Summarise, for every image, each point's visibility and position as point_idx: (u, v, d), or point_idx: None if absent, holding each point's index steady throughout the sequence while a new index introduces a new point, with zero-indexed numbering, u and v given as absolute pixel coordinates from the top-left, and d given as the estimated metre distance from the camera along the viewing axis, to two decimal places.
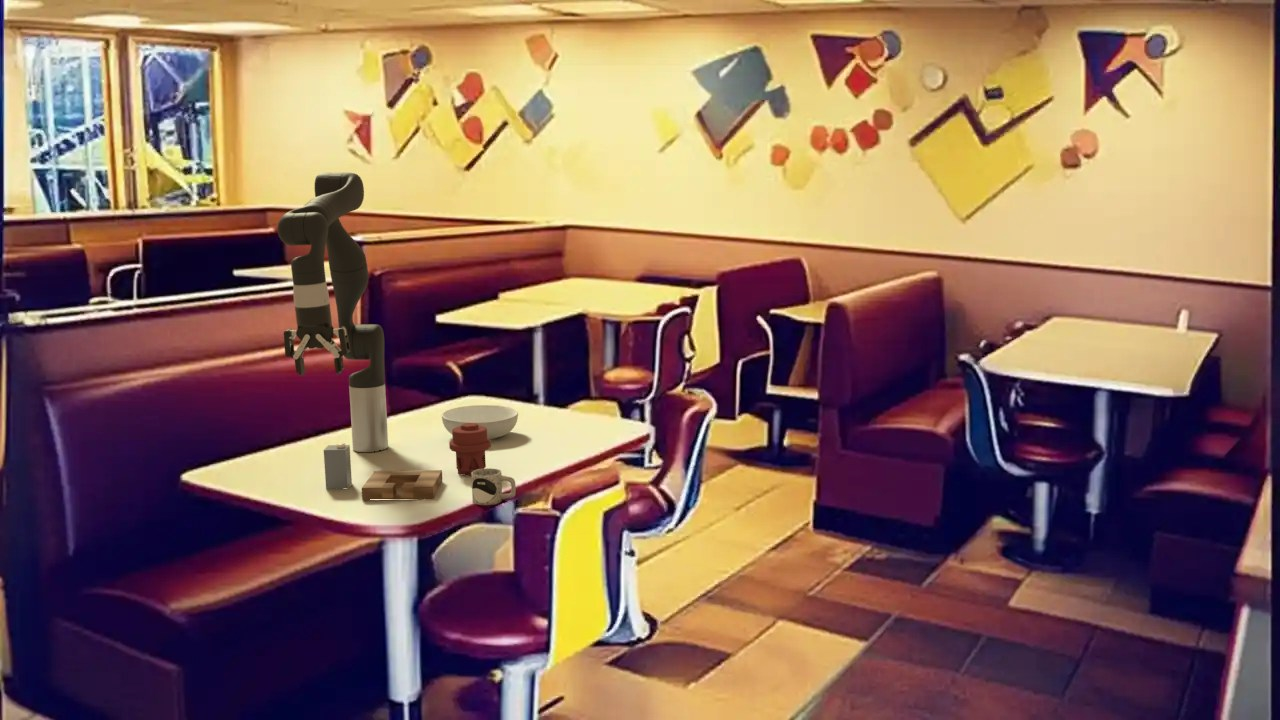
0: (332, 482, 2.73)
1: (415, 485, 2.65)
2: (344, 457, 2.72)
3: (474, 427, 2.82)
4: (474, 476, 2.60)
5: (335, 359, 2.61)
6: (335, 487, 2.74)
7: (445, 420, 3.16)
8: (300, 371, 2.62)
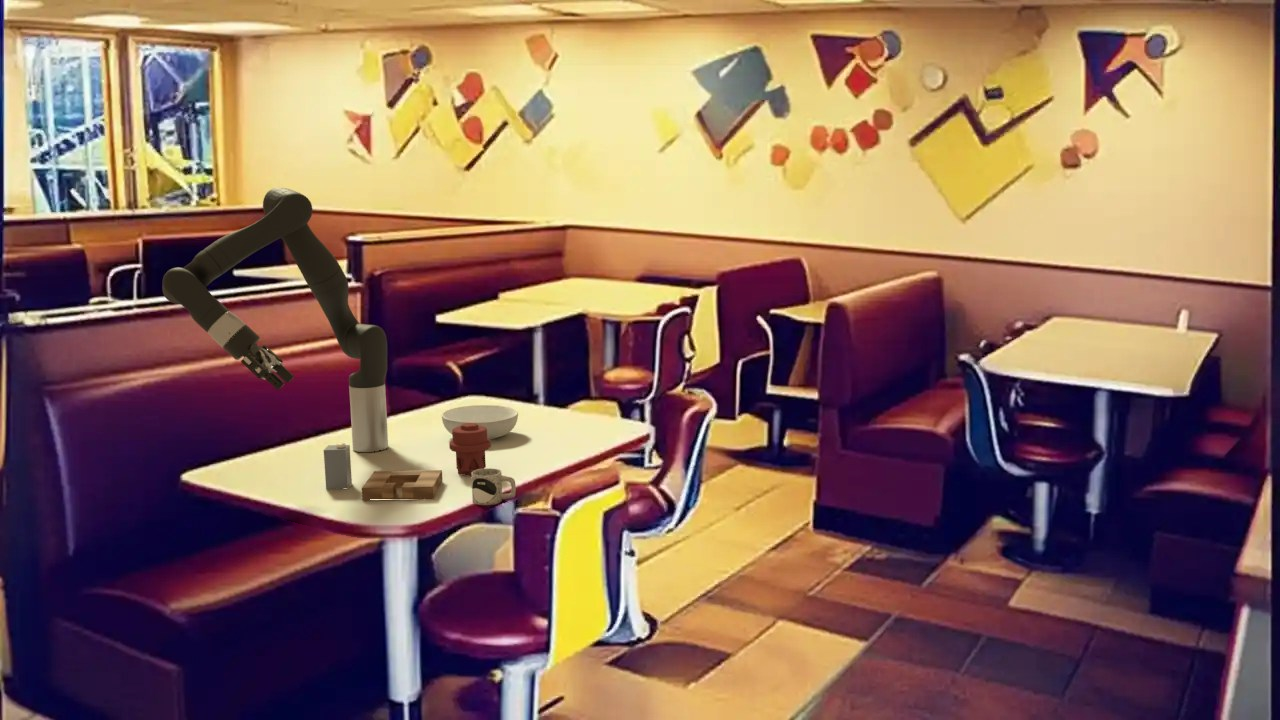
0: (332, 482, 2.73)
1: (415, 485, 2.65)
2: (344, 457, 2.72)
3: (474, 427, 2.82)
4: (474, 476, 2.60)
5: None
6: (335, 487, 2.74)
7: (445, 420, 3.16)
8: None
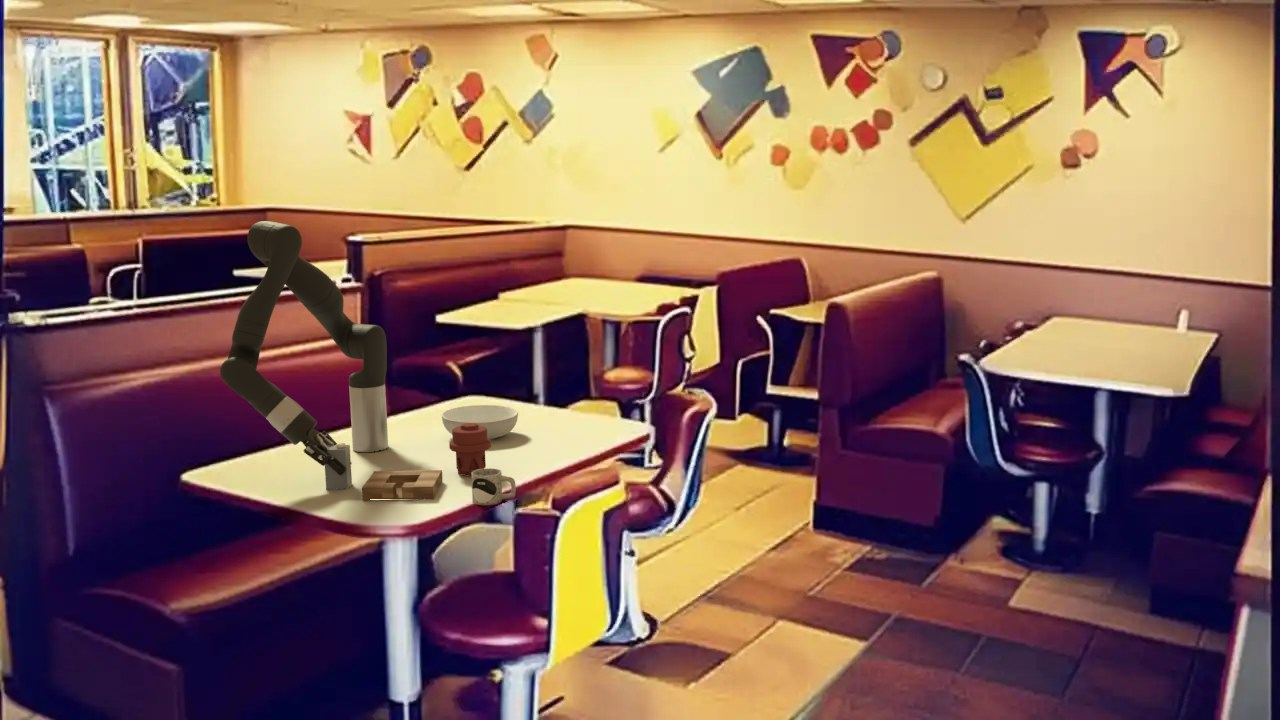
0: (332, 482, 2.73)
1: (415, 485, 2.65)
2: (344, 457, 2.72)
3: (474, 427, 2.82)
4: (474, 476, 2.60)
5: None
6: (335, 487, 2.74)
7: (445, 420, 3.16)
8: None
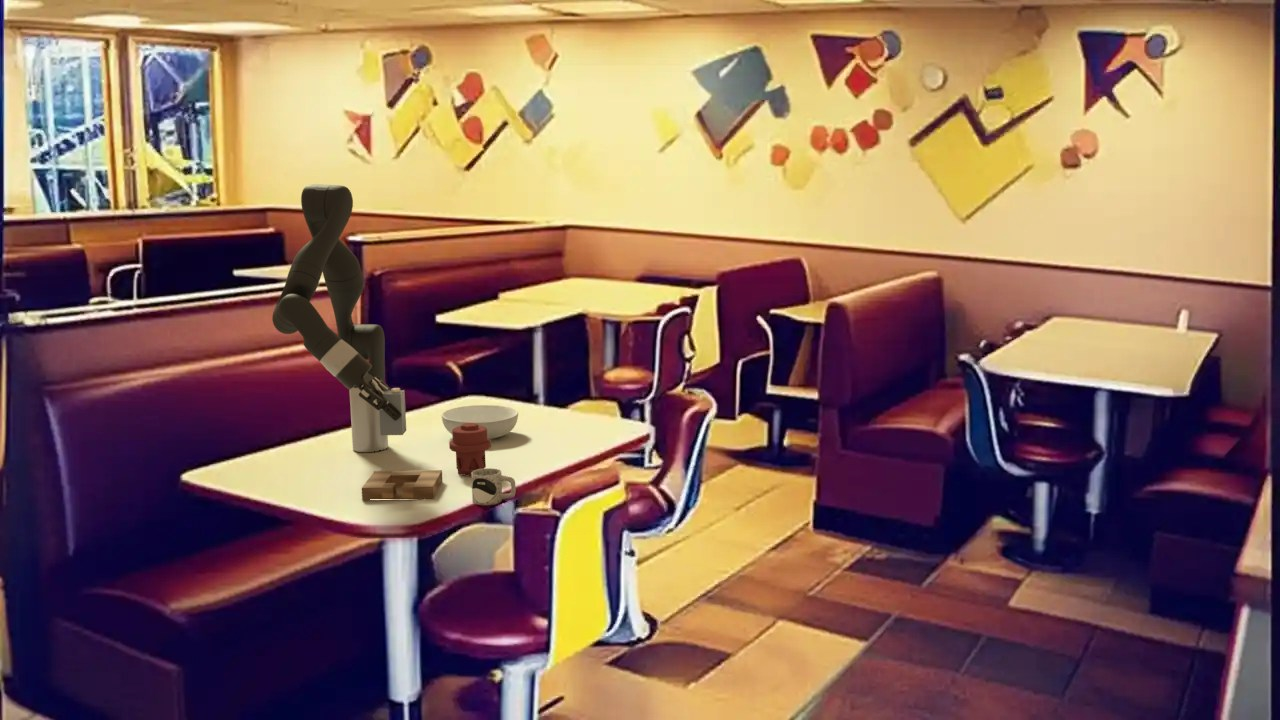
0: (386, 428, 2.66)
1: (415, 485, 2.65)
2: (399, 402, 2.65)
3: (474, 427, 2.82)
4: (474, 476, 2.60)
5: None
6: (390, 433, 2.67)
7: (445, 420, 3.16)
8: None
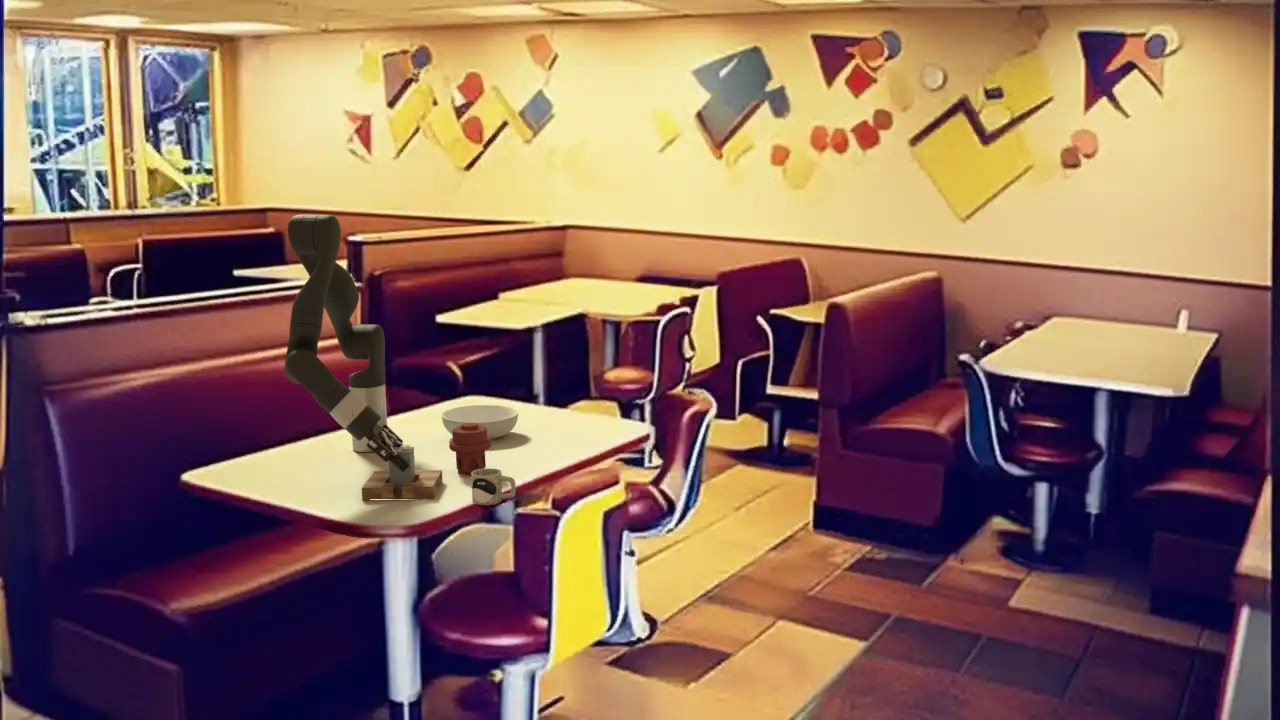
0: (396, 485, 2.69)
1: (415, 485, 2.65)
2: (409, 459, 2.68)
3: (474, 427, 2.82)
4: (474, 476, 2.60)
5: None
6: (399, 490, 2.69)
7: (445, 420, 3.16)
8: None
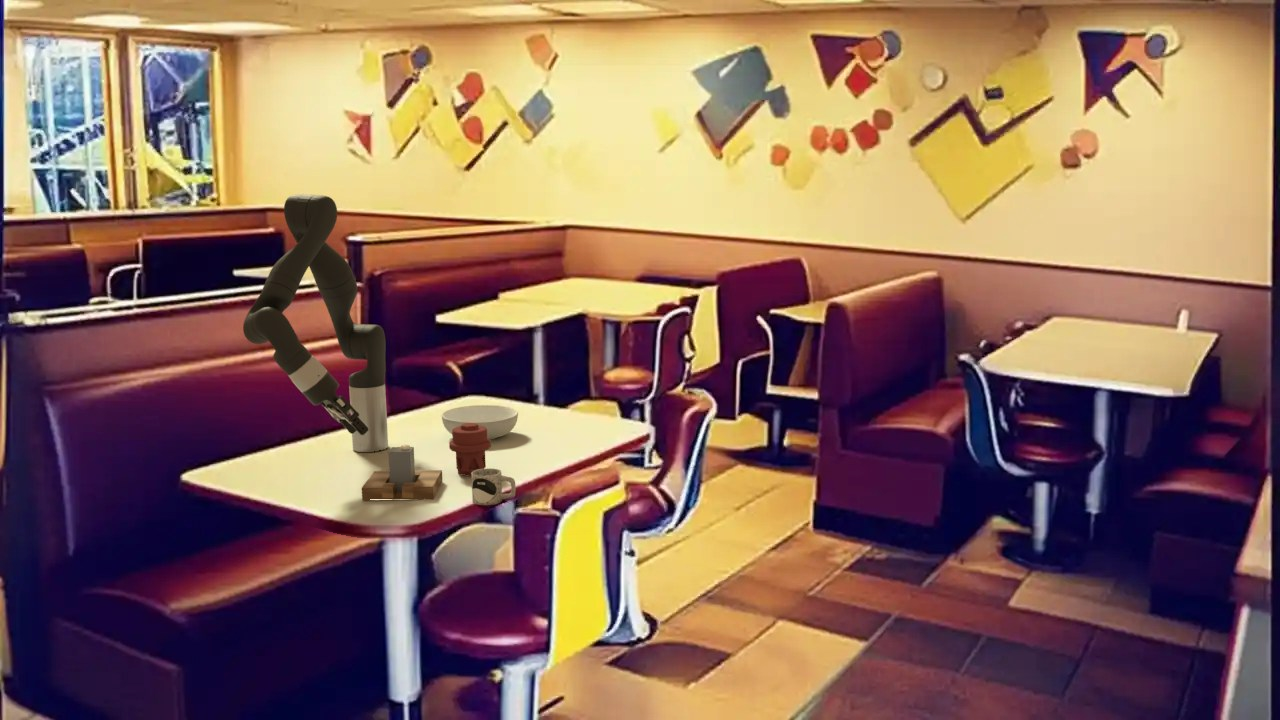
0: (396, 485, 2.69)
1: (415, 485, 2.65)
2: (409, 459, 2.68)
3: (474, 427, 2.82)
4: (474, 476, 2.60)
5: (351, 425, 2.67)
6: (399, 490, 2.69)
7: (445, 420, 3.16)
8: (349, 431, 2.75)
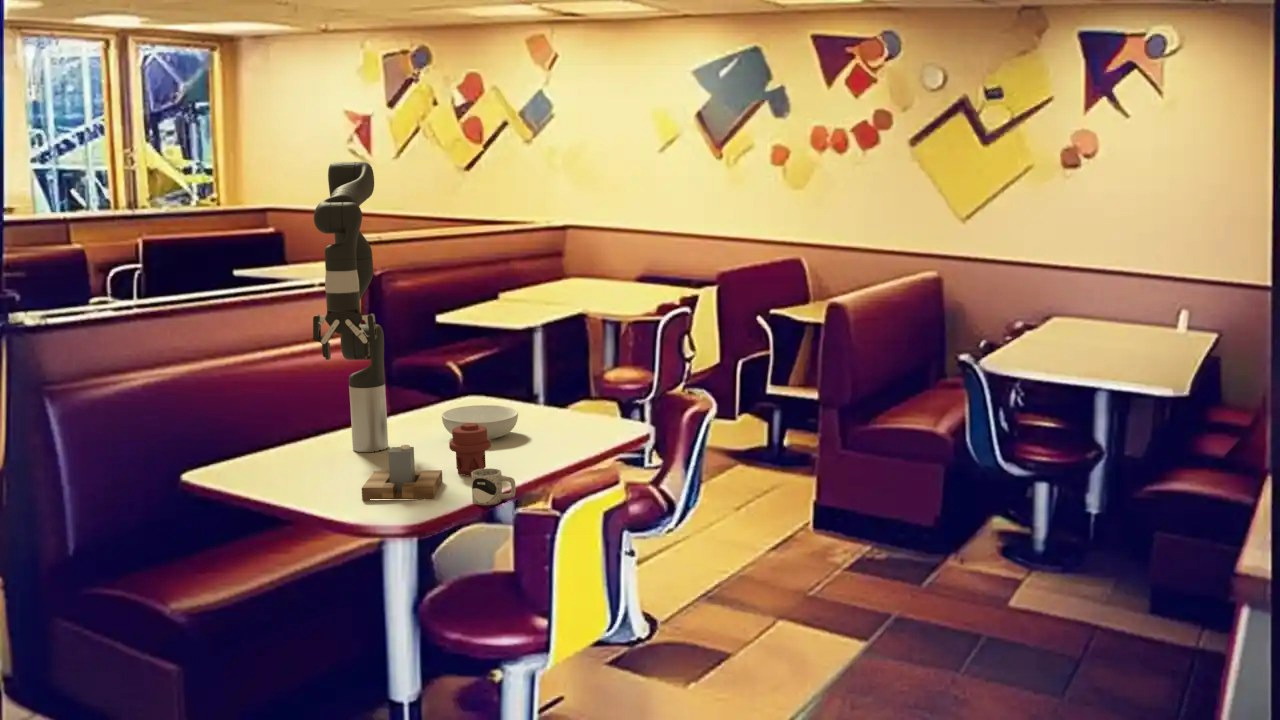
0: (396, 485, 2.69)
1: (415, 485, 2.65)
2: (409, 459, 2.68)
3: (474, 427, 2.82)
4: (474, 476, 2.60)
5: (363, 344, 2.71)
6: (399, 490, 2.69)
7: (445, 420, 3.16)
8: (327, 355, 2.71)
